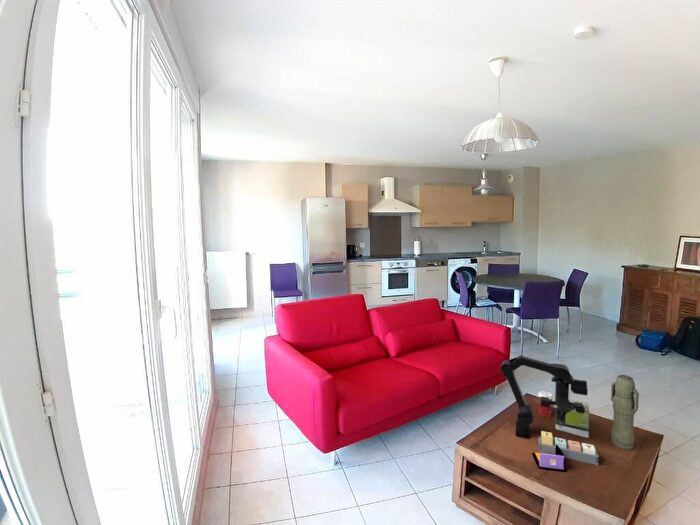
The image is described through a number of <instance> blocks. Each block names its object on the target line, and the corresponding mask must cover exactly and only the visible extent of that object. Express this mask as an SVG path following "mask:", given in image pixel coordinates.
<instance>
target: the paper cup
mask: <svg viewBox="0 0 700 525" xmlns="http://www.w3.org/2000/svg"><path fill="white" fill-rule="evenodd" d="M537 396H538V414H539V416H541V417H543V418H548V419H549V418H551V416H552V409H553V405H550V406H549V407H543V406H540V397H547V398H549V400H550V401H553V399H554V396H553V393H551V392H548V391H543V390H542V391H539V392H538V394H537Z"/></svg>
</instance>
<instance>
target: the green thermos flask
mask: <svg viewBox="0 0 700 525" xmlns="http://www.w3.org/2000/svg"><path fill="white" fill-rule="evenodd" d="M610 396H611V397H610V398H611V399H610V401H612V409H613V420H612V421H613V422H612V428H611V434H610V437H611V444H612V445H613V446H615V447H617V448H619V449H622V450H626V451H627V450H628V451H631V450H633V449H634V444H635V434H634V433H635V432H634V421H635V420H634V419H635V415H636V412H638V410H639V409H638V408H639V396H640V394H639V391H638V390H637V389H636V383H635V380H634V378H633V377H632V376H629V375H626V374H620V375H617V377H616V379H615V382H612V383H611V395H610Z"/></svg>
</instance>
